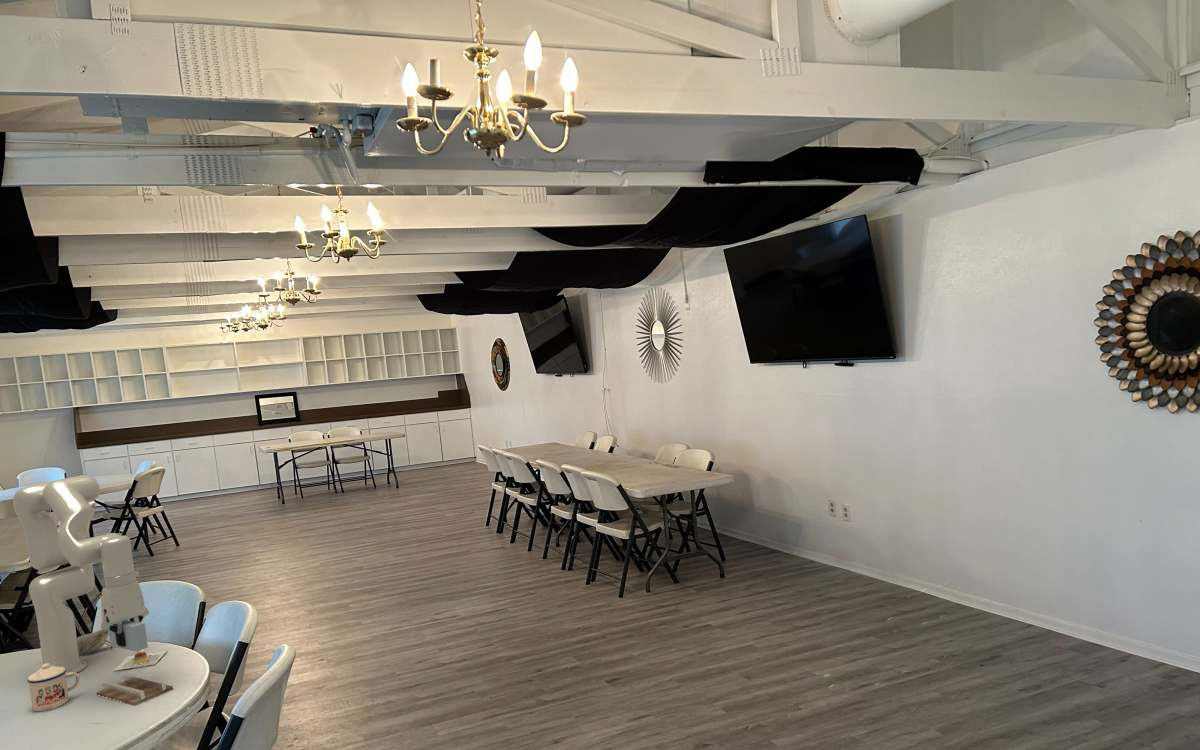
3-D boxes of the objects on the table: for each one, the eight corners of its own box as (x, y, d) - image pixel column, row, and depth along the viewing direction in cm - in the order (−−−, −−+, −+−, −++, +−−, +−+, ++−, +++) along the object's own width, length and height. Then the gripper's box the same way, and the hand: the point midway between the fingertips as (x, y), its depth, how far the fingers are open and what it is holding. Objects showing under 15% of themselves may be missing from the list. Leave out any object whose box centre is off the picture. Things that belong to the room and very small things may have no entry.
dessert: (113, 674, 255) (111, 658, 255) (128, 659, 267) (126, 645, 267) (155, 667, 257) (153, 652, 257) (168, 653, 269) (166, 639, 269)
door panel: (110, 646, 239) (107, 622, 238) (121, 642, 241) (118, 618, 241) (137, 651, 231) (133, 626, 231) (147, 647, 234) (144, 623, 233)
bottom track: (96, 695, 237) (95, 685, 237) (134, 679, 247) (133, 670, 247) (134, 705, 227) (133, 695, 227) (173, 688, 236) (171, 679, 236)
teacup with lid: (34, 715, 227) (28, 673, 227) (29, 706, 234) (23, 666, 234) (84, 699, 235) (79, 659, 235) (78, 691, 242) (73, 652, 241)
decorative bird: (60, 657, 275) (57, 635, 274) (116, 645, 282) (113, 624, 281) (58, 662, 270) (55, 640, 269) (114, 650, 277) (112, 628, 276)
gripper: (141, 571, 244) (149, 632, 245) (83, 588, 230) (91, 653, 231) (155, 572, 240) (163, 634, 241) (97, 590, 226) (105, 656, 227)
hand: (128, 643), depth 236 cm, fingers closed on door panel, 3 cm apart
